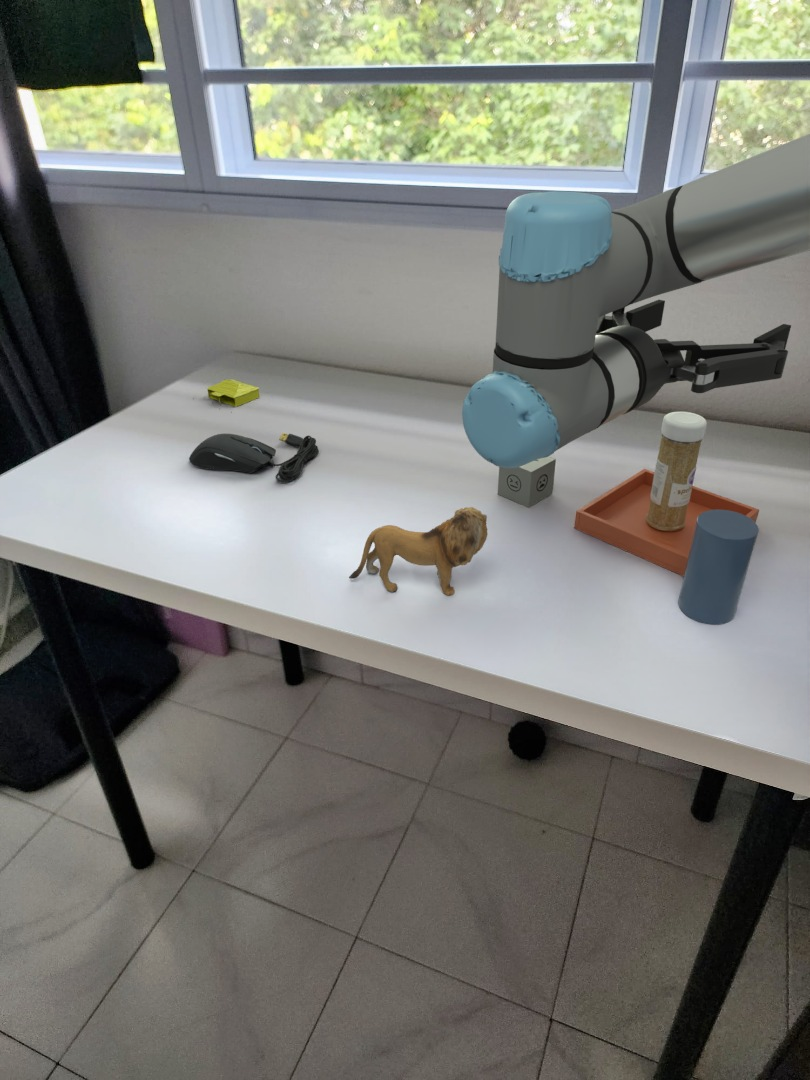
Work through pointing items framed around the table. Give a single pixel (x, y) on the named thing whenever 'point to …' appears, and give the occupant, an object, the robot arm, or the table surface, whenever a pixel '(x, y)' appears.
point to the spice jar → (675, 470)
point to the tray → (626, 526)
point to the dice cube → (527, 481)
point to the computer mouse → (251, 454)
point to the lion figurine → (427, 547)
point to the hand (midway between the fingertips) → (718, 324)
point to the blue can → (717, 566)
